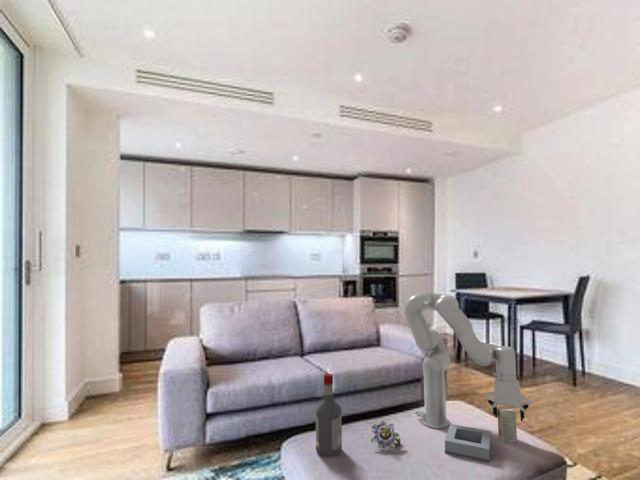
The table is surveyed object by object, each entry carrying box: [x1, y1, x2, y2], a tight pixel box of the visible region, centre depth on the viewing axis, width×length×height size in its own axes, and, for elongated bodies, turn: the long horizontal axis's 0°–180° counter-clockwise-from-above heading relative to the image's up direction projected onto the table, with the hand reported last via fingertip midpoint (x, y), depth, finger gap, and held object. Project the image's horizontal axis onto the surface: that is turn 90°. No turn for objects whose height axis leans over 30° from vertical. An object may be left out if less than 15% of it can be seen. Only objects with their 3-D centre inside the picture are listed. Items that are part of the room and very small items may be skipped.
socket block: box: [444, 423, 492, 464], centre depth 155 cm, size 16×16×5 cm
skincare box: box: [497, 408, 518, 444], centre depth 161 cm, size 6×4×12 cm
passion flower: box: [370, 419, 402, 452], centre depth 158 cm, size 11×11×12 cm
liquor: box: [315, 373, 343, 458], centre depth 154 cm, size 9×9×30 cm
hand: (508, 418), depth 161 cm, fingers open, 9 cm apart
